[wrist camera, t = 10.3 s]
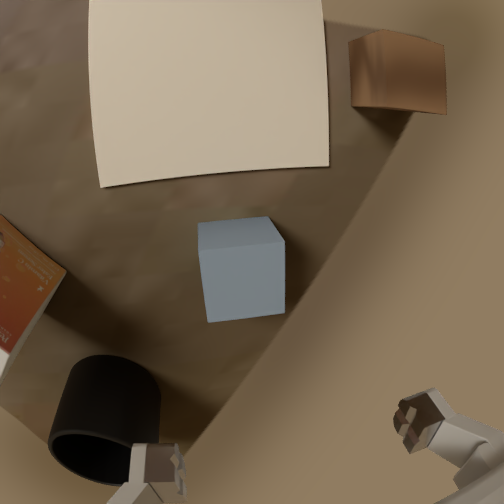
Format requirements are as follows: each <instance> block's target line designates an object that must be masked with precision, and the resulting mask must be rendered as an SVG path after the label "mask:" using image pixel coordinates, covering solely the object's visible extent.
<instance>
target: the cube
mask: <svg viewBox="0 0 504 504" xmlns="http://www.w3.org/2000/svg"><path fill="white" fill-rule="evenodd" d="M198 252H199V260H200V268H201V276H202V284H203V291H204V299H205V306H206V313H207V320H208V322H217V321H226V320H234V319H243V318H251V317H259V316H266V315H274V314H281V313H285V241H284V240H283V238H282V237H281V235H280V234H279V232H278V231H277V229H276V228H275V226H274V225H273V223H272V222H271V220H270V219H269V217H268V216H266V217H255V218H244V219H234V220H223V221H213V222H204V223H198Z"/></svg>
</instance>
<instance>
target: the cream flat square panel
mask: <svg viewBox="0 0 504 504" xmlns="http://www.w3.org/2000/svg"><path fill="white" fill-rule="evenodd" d="M88 54H89V84H90V100H91V113H92V125H93V135H94V144H95V152H96V160H97V167H98V174H99V181H100V187H101V188H102V187H109V186H115V185H122V184H128V183H135V182H142V181H150V180H158V179H165V178H174V177H182V176H191V175H201V174H211V173H222V172H233V171H245V170H259V169H274V168H292V167H315V166H329V120H328V88H327V67H326V50H325V35H324V22H323V11H322V1H321V0H89V28H88Z"/></svg>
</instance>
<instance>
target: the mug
mask: <svg viewBox="0 0 504 504" xmlns="http://www.w3.org/2000/svg"><path fill="white" fill-rule="evenodd" d="M160 402H161V394H160V390H159V388H158V385H157V383H156V382H155V380H154V379H153V378H152V376H151V375H150V374H149V373H148V372H146V371H145V370H144V369H143V368H141V367H140V366H138V365H136V364H134V363H132V362H130V361H128V360H125V359H123V358H119V357H115V356H109V355H94V356H90V357H86V358H84V359H82V360H80V361H79V362H78V363H76V364H75V365H74V366H73V368H72V369H71V372H70V374H69V377H68V380H67V383H66V385H65V388H64V391H63V394H62V397H61V400H60V403H59V406H58V409H57V412H56V415H55V419H54V422H53V425H52V428H51V432H50V435H49V439H48V448H49V450H50V453H51V454H52V456H53V457H54V458H55V459H56V460H57V461H58V462H59V463H60V464H61V465H62V466H64V467H65V468H66V469H68V470H69V471H71V472H73V473H75V474H77V475H79V476H81V477H83V478H85V479H88V480H91V481H94V482H97V483H101V484H106V485H111V486H120V487H121V486H122V485H123V484H124V483H125V482H129V472H130V462H131V452H132V446H133V444H134V443H149V444H153V443H159V422H160Z"/></svg>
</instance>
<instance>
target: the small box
mask: <svg viewBox="0 0 504 504" xmlns="http://www.w3.org/2000/svg"><path fill="white" fill-rule="evenodd" d="M65 274H66V270H65V269H63V268H62V267H61V266H59V265H58V264H57V263H55V262H54V261H53V260H51V259H50V258H49V257H48V256H46V255H45V254H44V253H43V252H42V251H40V250H39V249H38V248H37V247H36V246H35V245H33V244H32V243H31V242H30V241H29V240H28V239H27V238H25V237H24V236H23V235H22V234H21V233H20V232H19V231H18V230H17V229H15V228H14V227H13V226H12V225H11V224H10V223H9V222H8V221H7V220H6V219H5V218H4V217H3V216H2V215H1V214H0V386H1V384H2V382H3V380H4V378H5V376H6V374H7V373H8V371H9V369H10V367H11V365H12V363H13V362H14V360H15V358H16V356H17V354H18V353H19V351H20V349H21V348H22V346H23V344H24V343H25V341H26V339H27V338H28V336H29V334H30V333H31V331H32V329H33V328H34V326H35V325H36V323H37V322H38V320H39V318H40V317H41V315H42V314H43V312H44V310H45V308H46V307H47V305H48V303H49V301H50V300H51V298H52V296H53V295H54V293H55V291H56V289H57V288H58V286H59V284H60V283H61V281H62V279H63V278H64V276H65Z"/></svg>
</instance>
